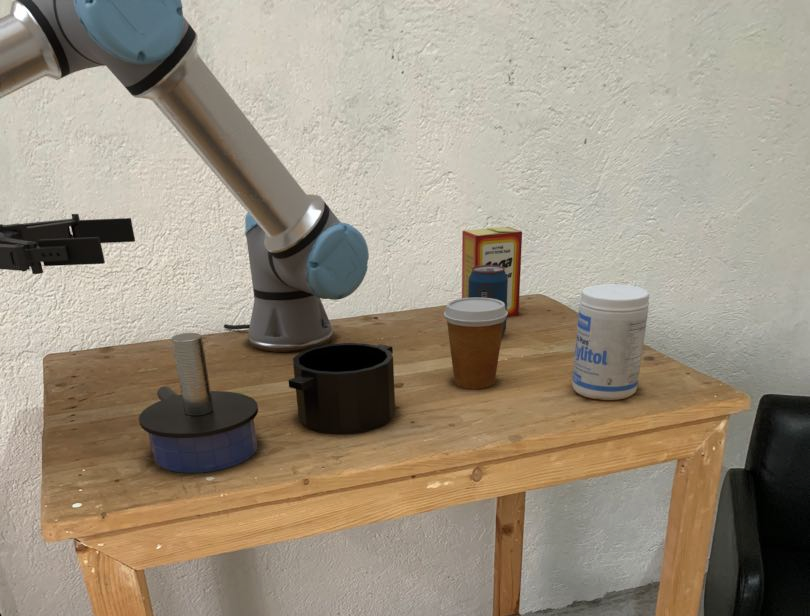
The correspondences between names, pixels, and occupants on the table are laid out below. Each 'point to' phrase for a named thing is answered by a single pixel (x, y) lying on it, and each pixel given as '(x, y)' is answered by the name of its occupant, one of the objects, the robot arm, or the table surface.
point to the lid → (196, 399)
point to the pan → (205, 450)
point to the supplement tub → (609, 341)
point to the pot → (344, 387)
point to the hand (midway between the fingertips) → (118, 239)
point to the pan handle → (165, 393)
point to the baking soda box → (494, 258)
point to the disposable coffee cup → (475, 339)
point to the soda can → (489, 284)
